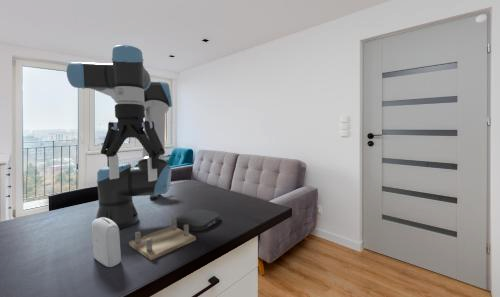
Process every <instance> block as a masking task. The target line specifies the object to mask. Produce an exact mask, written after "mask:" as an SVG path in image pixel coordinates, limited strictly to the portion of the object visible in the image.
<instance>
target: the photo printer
mask: <svg viewBox="0 0 500 297" xmlns="http://www.w3.org/2000/svg"><path fill="white" fill-rule="evenodd" d="M90 226H91V239H92V241H91V242H92V251H93V252H92V254H93V258H94V259H95V260H96V261H97V262H98V263H100V264H101V265H103V266H105V267H107V268H112V267H115V266H117V265H118V264H120V262H122V255H121V253H122V252H121V241H120V240H121V239H120V238H121V237H120V229H119V228H118V226H117V225H116V223H115V222H113V221H112V220H110V219H108V218H105V217H101V218H98V219H96V218H94V220H93V221H92V223H91V225H90Z"/></svg>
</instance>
